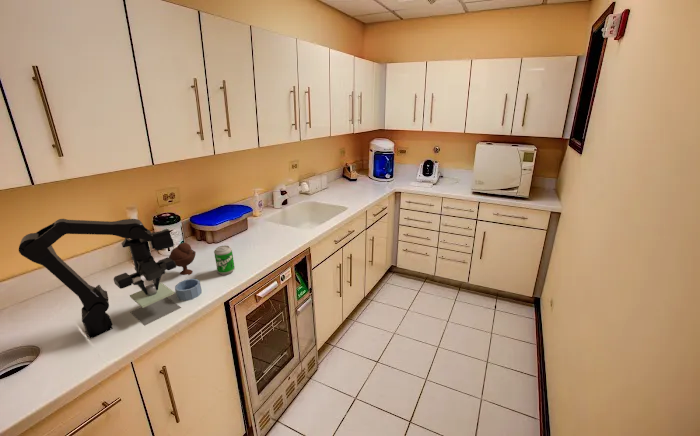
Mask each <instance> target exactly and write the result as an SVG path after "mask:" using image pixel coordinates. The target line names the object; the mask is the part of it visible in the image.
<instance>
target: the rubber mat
mask: <svg viewBox="0 0 700 436" xmlns="http://www.w3.org/2000/svg"><path fill="white" fill-rule="evenodd" d="M180 309H182V307H181V306H180V305H179V304H177V303H176V302H175V301H173V300H172V299H171V298H169V296H168V297H166V298H164V299H161V300H159V301H157V302H155V303H153V304H150V305H148V306H146V307H144V308H142V307H141V306H139V307H138V308H136V309H133V310H132V311H130V312H129V313H130V314H132V315H133V317H134V318H135V319H136V320H138V321H139V323H141V324H142V325H143V326H147V325H149V324H151V323H153V322H156V321H157V320H160V319H161V318H164V317H165V316H167V315H169V314H172V313H174V312H175V311H177V310H180Z"/></svg>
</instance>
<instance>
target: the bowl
mask: <svg viewBox="0 0 700 436" xmlns="http://www.w3.org/2000/svg"><path fill="white" fill-rule="evenodd" d="M174 292H175V295H176V299H177V300H179V301H183V302H186V301H192V300H194V299H195V298H196V299H197V298H198V297H199V296H200V295H201V294H202V285H201V281H200V280H199V279H197V278H189V279H187V278H186V279H184V280H181V281H179V282H178V283H176V285H174Z"/></svg>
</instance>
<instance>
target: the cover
mask: <svg viewBox="0 0 700 436" xmlns="http://www.w3.org/2000/svg"><path fill="white" fill-rule="evenodd" d="M145 288H146V290H147V295H146V294H145V293H144V292H143V291H142V290H141V289H140V290H139V291H137V292H135V293H131V294H129V298H131V299H132V300H133V301H134V302H135V303H136V304H137V305H139V307H142V308H144V307H146V306H148V305H150V304H153V303H155V302H157V301H159V300H161V299H164V298H166V297H168V298H169V297H170V296H172V295H174V294H175V295H176V292H175V290H173V289H171V288H169V287H168V286H166V285H165V284H163V283H162V282H159V286H158V290H156V287H155V284H154V283H152V284H151V283H150V284H147V285H146V286H145Z"/></svg>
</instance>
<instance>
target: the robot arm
mask: <svg viewBox="0 0 700 436" xmlns="http://www.w3.org/2000/svg"><path fill="white" fill-rule="evenodd" d="M65 235H98V236H99V235H102V236H103V235H104V236H105V235H106V236H108V235H109V236H116V237H120V238H124V240H123V241H122V242H121V246H122V248H127V247H129V252H130V254H131V260H132V262H133V266H134V268H133V269H134V270H135V272H133V273H130V274H128V273H127V272H123V273H121V274H118V275H115V276H114V277H113V283H114V284H115V286H117V287H118V288H119V289H121V290H122V289H125V288H128V287H130V286H132V285H134V286H138V288H140V291H141V290H142V291H143V292H144V293H145V294H146V295H147V290H146V288H145V287H146V286H145V282H144V280H143V279H142V278H141V277H144V279H145V280H146V281H148V282H151V281H152V284H155V287H156V290H158V286H159V283H160V281H161V278H162V276H163V275H165V274H166V270H167V271H171V270H173V269H176V268H177V266H176V263H175V261H173V260H172V259H170V258H169V256H168V257H165V258H162V259H159V260H158V261H157V262H156V260H155V258H154V256H153V255H152V251H151V249H152V250H154V251H162V250H166V249H169V248H173V247H174V246H175V244H174V239H173V238H172V235H171V232H170V230H169V229H168V228H165V229H162V230H159V231H155V232H152V231H151V230H150V229H148V228H147V227H145V225H144V223H143V222H142V221H141V219H140V220H139V219H137V218H126V219H120V220H119V219H118V220H115V221H105V220H83V219H81V220H79V219H66V218H59V219H57V220H55V221H54V222H52V223H51V224H48V225H47V226H45V227H43V228H40V229H39V230H38V231H36V232H32V233H30V232H29V233H28V234H25V236H23V237H22V238H21V241H20V244H19V245H18V253H19V254H20V255H21V256H22V257H24V258H25V259H27V260H29V261H31V262H33V263H34V264H38V265H40V266H43V267H44V268H45V269H46V270H48V271H49V273H51V274H52V275H54V277H56V279H58V281H60V282H61V283H62V284H63V285H65V286H66V287H67V288H68V289H69V290H70V291H71V292H73V293H74V294H75V295H76V296H77V297H78V298H79V300H80V302H81V304H82V307H81V322H82V324H83V327H84V330H85V331H84V332H85V333H86V334H85V335H87V336H88V337H89V339H90V340H91V339H94V338H96V337H98V336H100V335H102V334H105V333H107V332H109V331H111V330H113V329H114V328H113V323H112V320H111V317H110V315H109V313H107V311H108V309H109V308H110V304H109V295H108V291H107V290H104V289H103V287H102V286H101V285H100V284H98V285H97V286H93V285H91V284H89V283H88V282H87V281H86V280H85V279H84V278H82V277H81V275H79V274H78V273H77V272H76V271H75V270H74V269H73V268H72V267H71V266H70V265H68V264H67V263H66V262H65V261H64V260H63V259H62V258H61V257H60V256H59V255H58V254H57V252H56V251H55V249H54V247H53V245H54V244H55V243H56V242H57V241H58V240H60V239H61V238H62V237H63V236H65Z"/></svg>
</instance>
